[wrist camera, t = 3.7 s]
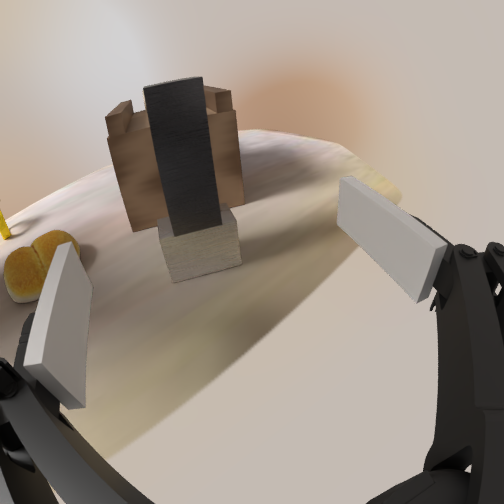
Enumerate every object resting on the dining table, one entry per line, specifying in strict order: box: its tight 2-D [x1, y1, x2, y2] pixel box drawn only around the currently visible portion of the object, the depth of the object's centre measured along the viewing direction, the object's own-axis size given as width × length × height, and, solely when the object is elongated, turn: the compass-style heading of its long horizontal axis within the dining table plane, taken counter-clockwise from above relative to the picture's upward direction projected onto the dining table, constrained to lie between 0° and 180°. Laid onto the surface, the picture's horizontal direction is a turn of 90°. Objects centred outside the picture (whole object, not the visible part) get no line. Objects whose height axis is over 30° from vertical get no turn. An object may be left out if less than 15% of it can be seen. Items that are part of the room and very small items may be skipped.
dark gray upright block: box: [143, 77, 242, 283], centre depth 20 cm, size 6×3×14 cm, turn 109°
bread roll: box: [3, 230, 80, 303], centre depth 23 cm, size 8×9×4 cm
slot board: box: [105, 85, 245, 232], centre depth 33 cm, size 12×16×12 cm
